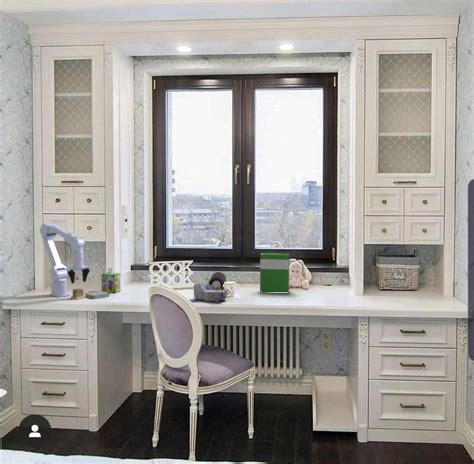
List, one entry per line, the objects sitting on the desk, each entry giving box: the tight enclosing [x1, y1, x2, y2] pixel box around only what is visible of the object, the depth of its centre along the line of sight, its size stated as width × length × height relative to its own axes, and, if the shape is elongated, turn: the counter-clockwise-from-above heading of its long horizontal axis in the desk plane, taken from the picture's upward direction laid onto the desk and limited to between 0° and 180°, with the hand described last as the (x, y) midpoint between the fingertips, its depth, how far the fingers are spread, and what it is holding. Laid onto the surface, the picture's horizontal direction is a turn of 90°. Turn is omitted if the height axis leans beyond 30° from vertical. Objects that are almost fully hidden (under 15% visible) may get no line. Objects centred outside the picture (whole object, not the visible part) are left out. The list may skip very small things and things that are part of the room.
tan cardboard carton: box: [70, 288, 86, 301], centre depth 340 cm, size 7×5×6 cm
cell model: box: [193, 281, 230, 303], centre depth 338 cm, size 13×11×20 cm
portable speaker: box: [208, 271, 227, 289], centre depth 373 cm, size 26×10×10 cm, turn 178°
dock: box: [84, 290, 110, 300], centre depth 346 cm, size 10×10×2 cm
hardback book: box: [259, 252, 290, 293], centre depth 365 cm, size 18×7×24 cm, turn 83°
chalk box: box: [100, 267, 122, 294], centre depth 362 cm, size 9×9×15 cm
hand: (78, 282), depth 340 cm, fingers open, 7 cm apart
